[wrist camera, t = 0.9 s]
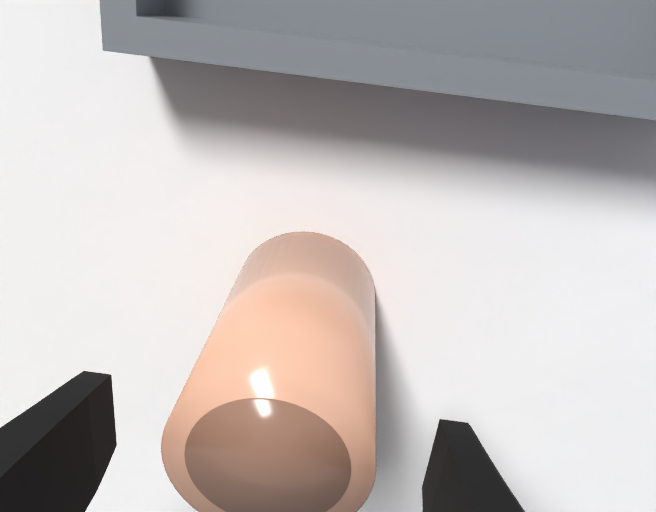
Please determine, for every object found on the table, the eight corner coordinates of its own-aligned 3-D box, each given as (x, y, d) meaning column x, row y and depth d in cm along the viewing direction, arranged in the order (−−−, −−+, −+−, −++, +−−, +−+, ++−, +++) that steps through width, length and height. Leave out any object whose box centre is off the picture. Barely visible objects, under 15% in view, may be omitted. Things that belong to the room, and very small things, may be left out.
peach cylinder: (385, 242, 16) (392, 396, 10) (364, 360, 18) (360, 553, 12) (240, 222, 16) (157, 363, 10) (235, 343, 18) (162, 524, 12)
